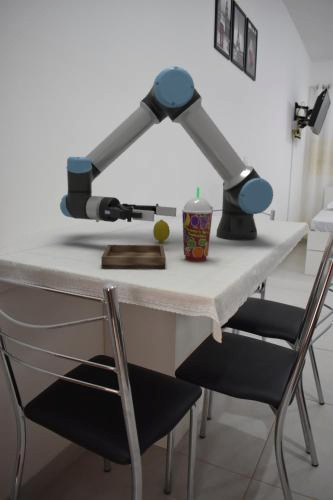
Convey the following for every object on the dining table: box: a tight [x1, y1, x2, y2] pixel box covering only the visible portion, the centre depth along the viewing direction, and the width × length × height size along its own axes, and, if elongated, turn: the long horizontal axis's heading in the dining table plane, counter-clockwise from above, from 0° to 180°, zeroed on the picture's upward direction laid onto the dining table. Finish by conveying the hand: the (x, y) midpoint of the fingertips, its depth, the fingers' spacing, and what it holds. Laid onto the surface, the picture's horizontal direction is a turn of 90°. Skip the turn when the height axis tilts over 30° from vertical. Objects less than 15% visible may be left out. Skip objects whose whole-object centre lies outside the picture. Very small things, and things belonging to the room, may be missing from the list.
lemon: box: [152, 219, 171, 244], centre depth 132 cm, size 6×6×8 cm
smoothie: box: [181, 186, 213, 262], centre depth 107 cm, size 8×8×20 cm
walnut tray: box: [100, 244, 167, 270], centre depth 105 cm, size 16×16×3 cm
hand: (165, 214), depth 111 cm, fingers open, 13 cm apart
